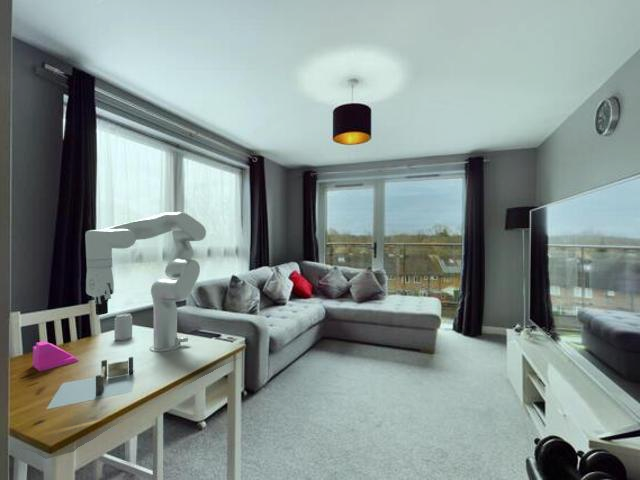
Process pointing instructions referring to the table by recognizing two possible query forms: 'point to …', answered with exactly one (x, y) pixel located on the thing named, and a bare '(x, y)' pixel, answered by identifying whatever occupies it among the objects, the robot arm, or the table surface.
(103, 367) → the gate
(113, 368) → the fence fixed
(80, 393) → the card
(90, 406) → the table surface
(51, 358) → the magenta wedge-shaped piece
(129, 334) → the can
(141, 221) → the robot arm
